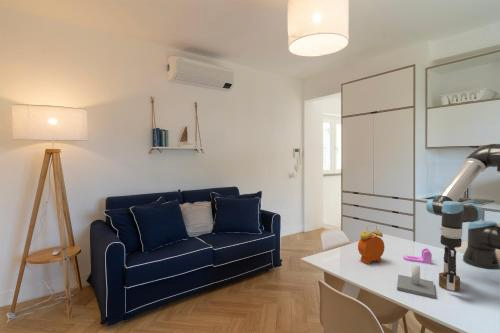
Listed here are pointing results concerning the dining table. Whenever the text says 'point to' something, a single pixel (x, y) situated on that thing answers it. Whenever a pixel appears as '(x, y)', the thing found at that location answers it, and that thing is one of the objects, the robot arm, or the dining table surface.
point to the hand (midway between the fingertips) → (448, 283)
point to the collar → (444, 281)
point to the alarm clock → (371, 246)
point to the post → (416, 284)
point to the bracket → (425, 257)
